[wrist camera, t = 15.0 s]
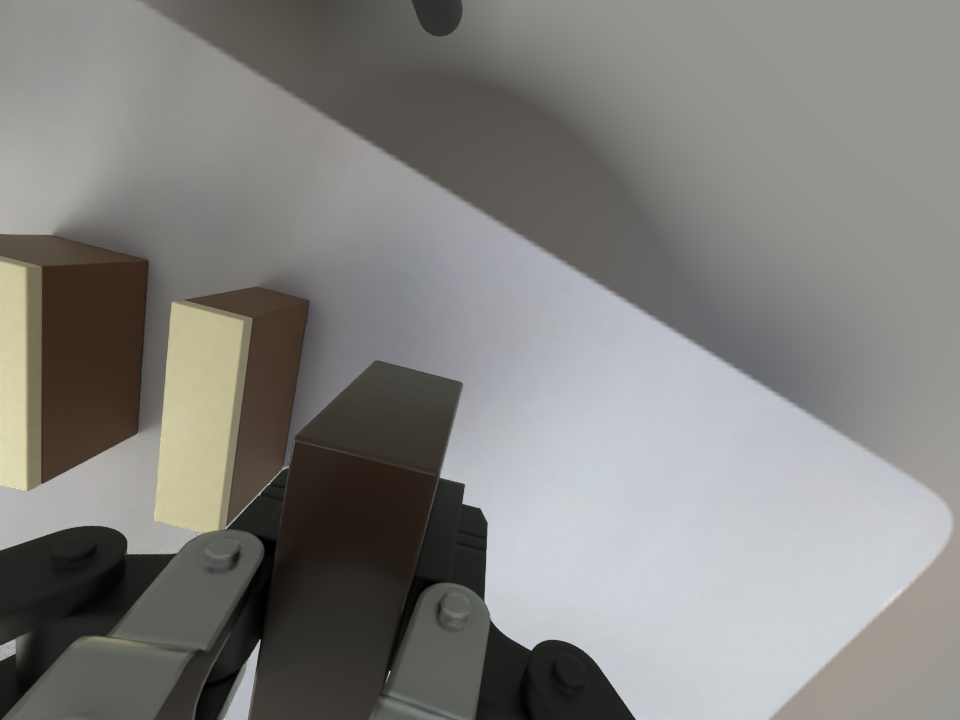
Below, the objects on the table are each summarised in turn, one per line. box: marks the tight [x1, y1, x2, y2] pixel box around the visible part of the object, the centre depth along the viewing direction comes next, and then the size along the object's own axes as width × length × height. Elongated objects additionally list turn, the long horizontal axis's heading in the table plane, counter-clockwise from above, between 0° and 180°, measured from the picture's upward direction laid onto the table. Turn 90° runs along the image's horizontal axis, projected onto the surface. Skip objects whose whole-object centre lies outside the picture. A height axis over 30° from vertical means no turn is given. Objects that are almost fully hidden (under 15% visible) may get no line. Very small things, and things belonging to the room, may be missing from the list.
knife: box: [248, 360, 463, 720], centre depth 11 cm, size 16×2×4 cm, turn 166°
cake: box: [0, 234, 148, 491], centre depth 19 cm, size 9×5×6 cm, turn 166°
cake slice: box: [154, 287, 309, 533], centre depth 20 cm, size 9×3×6 cm, turn 165°
